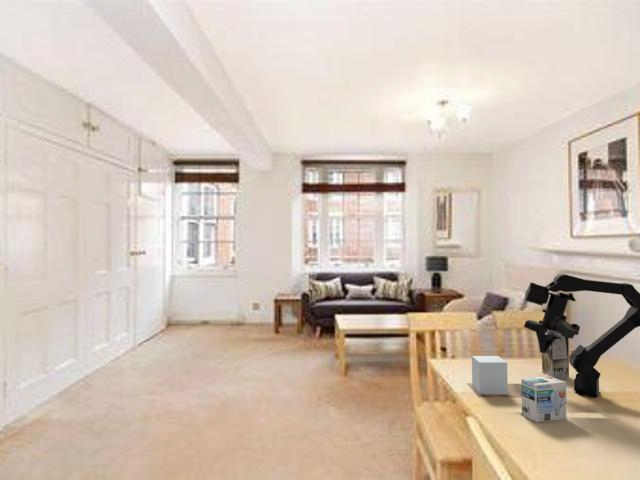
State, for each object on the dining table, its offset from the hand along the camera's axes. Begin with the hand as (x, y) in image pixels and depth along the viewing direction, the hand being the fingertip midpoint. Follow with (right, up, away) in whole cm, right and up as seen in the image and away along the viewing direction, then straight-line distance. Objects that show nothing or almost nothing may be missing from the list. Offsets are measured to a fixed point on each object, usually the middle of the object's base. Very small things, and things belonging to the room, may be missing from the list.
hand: (542, 352), depth 159 cm
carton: (-19, -12, -3) cm, 23 cm away
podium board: (-15, -13, -3) cm, 20 cm away
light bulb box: (-11, -13, -24) cm, 29 cm away
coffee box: (+14, -13, +18) cm, 27 cm away
